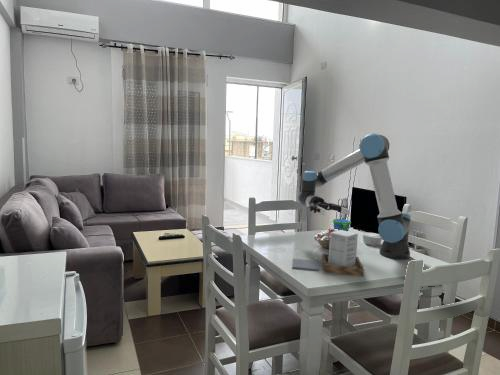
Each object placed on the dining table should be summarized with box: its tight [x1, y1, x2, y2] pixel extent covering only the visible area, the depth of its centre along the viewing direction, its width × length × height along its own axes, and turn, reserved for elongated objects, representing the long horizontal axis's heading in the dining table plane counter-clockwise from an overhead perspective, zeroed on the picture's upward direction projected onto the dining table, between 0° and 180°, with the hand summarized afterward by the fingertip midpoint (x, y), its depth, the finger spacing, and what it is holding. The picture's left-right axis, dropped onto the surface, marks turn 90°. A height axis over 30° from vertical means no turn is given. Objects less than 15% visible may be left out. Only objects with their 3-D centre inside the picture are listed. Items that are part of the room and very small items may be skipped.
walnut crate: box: [321, 253, 365, 277], centre depth 174 cm, size 17×17×4 cm
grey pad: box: [291, 258, 320, 272], centre depth 176 cm, size 12×12×1 cm
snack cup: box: [332, 218, 352, 232], centre depth 232 cm, size 16×10×10 cm
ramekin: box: [362, 232, 383, 246], centre depth 221 cm, size 11×11×5 cm
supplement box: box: [327, 230, 359, 267], centre depth 174 cm, size 10×9×17 cm
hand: (336, 212), depth 180 cm, fingers open, 13 cm apart
